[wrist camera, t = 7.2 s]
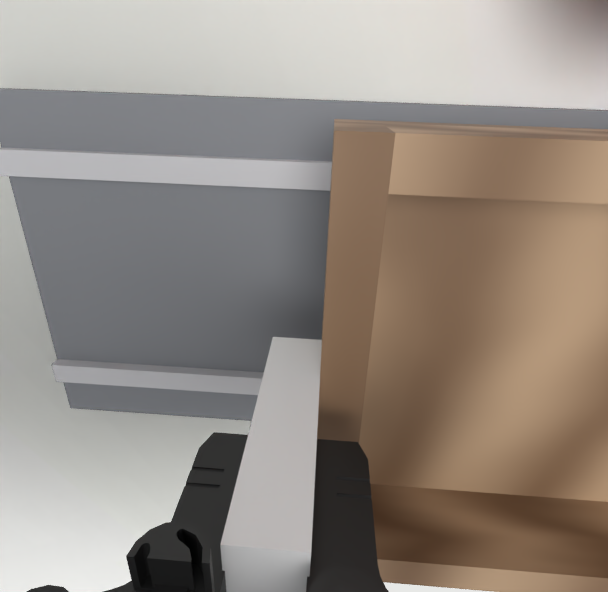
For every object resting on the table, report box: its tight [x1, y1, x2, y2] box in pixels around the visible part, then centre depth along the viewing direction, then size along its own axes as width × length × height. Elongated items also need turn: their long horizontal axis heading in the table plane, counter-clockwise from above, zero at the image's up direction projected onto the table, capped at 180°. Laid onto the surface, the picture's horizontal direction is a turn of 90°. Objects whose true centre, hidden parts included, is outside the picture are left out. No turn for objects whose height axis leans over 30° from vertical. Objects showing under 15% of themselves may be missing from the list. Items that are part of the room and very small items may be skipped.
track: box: [0, 88, 608, 421], centre depth 17 cm, size 35×15×4 cm, turn 88°
